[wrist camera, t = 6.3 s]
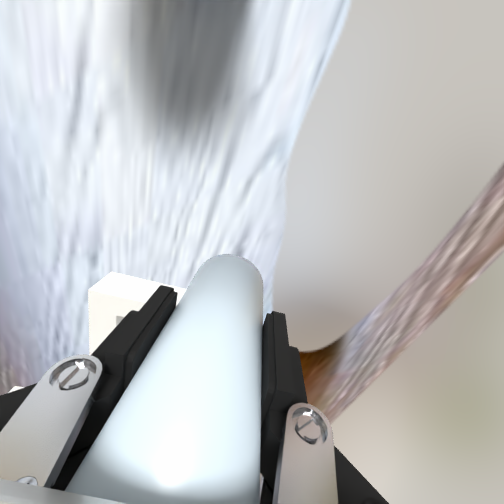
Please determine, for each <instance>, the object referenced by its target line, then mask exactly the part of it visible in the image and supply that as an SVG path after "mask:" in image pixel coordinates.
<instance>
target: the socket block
mask: <svg viewBox="0 0 504 504" xmlns="http://www.w3.org/2000/svg"><path fill="white" fill-rule="evenodd" d="M160 285H164V286H168V287H172V288H174V291H175V292H178V296H177V302H176V306H177V304H178V303H179V301H180V299H181V298H182V296H183V295H184V293H185V291H186V290H187V289H184V288H179V287H175V286H171V285H166V284H162V283H158V282H154V281H149V280H145V279H141V278H136V277H132V276H128V275H123V274H119V273H115V272H111V273H109V274H108V275H107V276H105V277H104V278H103V279H101V280H100V281H99V282H98V283H96V284H95V285H94V286H92V287H91V288H90V289H89V290H88V300H89V347H90V355H91V354H92V353H93V352H94V351H95V350H96V349H97V347H98V346H99V345H100V344H101V343H102V342H103V341H104V340H105V339H106V337H107V336H108V335H109V334H110V333H111V332H112V331H113V330H114V328H115V327H116V326H117V325H118V324H119V323H120V322H121V321H122V319H123V318H124V317H125V316H126V315H127V314H128V313H129V312H130V311H131V310H135V311H139V310H140V309H141V308H142V307H143V305H144V304H145V303H146V302H147V301H148V299H149V298H150V297H151V296H152V295H153V293H154V292H155V291H156V290H157V289H158V287H159V286H160Z"/></svg>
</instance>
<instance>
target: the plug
mask: <svg viewBox="0 0 504 504" xmlns="http://www.w3.org/2000/svg"><path fill="white" fill-rule="evenodd" d="M262 328H263V280H262V277H261V274H260V272H259V271H258V269H257V268H256V267H255V266H254V265H253V264H252V263H251V262H250V261H248V260H247V259H245V258H243V257H240V256H237V255H231V254H223V255H218V256H214V257H212V258H210V259H208V260H207V261H206V262H204V263H203V264H202V266H201V267H200V268H199V270H198V271H197V273H196V275H195V276H194V278H193V280H192V281H191V283H190V285H189V286H188V288H187V290H186V291H185V293H184V295H183V296H182V298H181V299H180V301H179V303H178V304H177V306H176V308H175V309H174V311H173V313H172V314H171V316H170V318H169V319H168V321H167V323H166V324H165V326H164V328H163V329H162V331H161V332H160V334H159V336H158V337H157V339H156V341H155V342H154V344H153V346H152V347H151V349H150V351H149V352H148V354H147V356H146V357H145V359H144V361H143V362H142V364H141V365H140V367H139V369H138V370H137V372H136V374H135V375H134V377H133V379H132V380H131V382H130V384H129V385H128V387H127V389H126V390H125V392H124V394H123V395H122V397H121V398H120V400H119V402H118V403H117V405H116V407H115V408H114V410H113V412H112V413H111V415H110V417H109V418H108V420H107V422H106V423H105V425H104V427H103V428H102V430H101V431H100V433H99V435H98V436H97V438H96V440H95V441H94V443H93V445H92V446H91V448H90V450H89V451H88V453H87V455H86V456H85V458H84V460H83V461H82V463H81V465H80V466H79V468H78V469H77V471H76V473H75V474H74V476H73V478H72V479H71V481H70V483H69V484H68V486H67V488H66V489H65V491H66V492H71V493H76V494H81V495H86V496H91V497H97V498H102V499H107V500H112V501H117V502H122V503H127V504H259V502H260V446H261V381H262Z"/></svg>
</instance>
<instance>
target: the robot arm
mask: <svg viewBox="0 0 504 504" xmlns="http://www.w3.org/2000/svg"><path fill="white" fill-rule="evenodd" d="M177 296H178V292H175V291H174V288H172V287H168V286H164V285H160V286H159V287H158V289H157V290H156V291H155V292H154V293H153V295H152V296H151V297H150V298H149V299H148V301H147V302H146V303H145V304H144V305H143V307H142V308H141V309H140V310H139V311H135V310H131V311H130V312H129V313H128V314H127V315H126V316H125V317H124V318H123V319H122V321H121V322H120V323H119V324H118V325H117V326H116V327H115V328H114V330H113V331H112V332H111V333H110V334H109V335H108V336H107V337H106V339H105V340H104V341H103V342H102V343H101V344H100V345H99V346H98V347H97V349H96V350H95V351H94V352H93V353H92V354H91V355H75V356H70V357H67V358H65V359H62V360H60V361H59V362H57V363H55V364H54V365H52V366H51V367H50V368H49V369H48V370H47V371H46V373H45V374H44V375H43V377H42V378H41V379H40V381H39V382H38V383H36V384H33V385H30V386H27V387H24V388H21V389H18V390H16V391H13V392H10V393H7V394H4V395H1V396H0V504H127V503H122V502H117V501H112V500H107V499H102V498H97V497H91V496H86V495H81V494H76V493H71V492H66V491H65V489H66V488H67V486H68V484H69V483H70V481H71V479H72V478H73V476H74V474H75V473H76V471H77V469H78V468H79V466H80V465H81V463H82V461H83V460H84V458H85V456H86V455H87V453H88V451H89V450H90V448H91V446H92V445H93V443H94V441H95V440H96V438H97V436H98V435H99V433H100V431H101V430H102V428H103V427H104V425H105V423H106V422H107V420H108V418H109V417H110V415H111V413H112V412H113V410H114V408H115V407H116V405H117V403H118V402H119V400H120V398H121V397H122V395H123V394H124V392H125V390H126V389H127V387H128V385H129V384H130V382H131V380H132V379H133V377H134V375H135V374H136V372H137V370H138V369H139V367H140V365H141V364H142V362H143V361H144V359H145V357H146V356H147V354H148V352H149V351H150V349H151V347H152V346H153V344H154V342H155V341H156V339H157V337H158V336H159V334H160V332H161V331H162V329H163V328H164V326H165V324H166V323H167V321H168V319H169V318H170V316H171V314H172V313H173V311H174V309H175V308H176V302H177ZM259 504H389V503H388V502H387V501H386V500H385V499H384V498H383V497H382V496H381V495H380V494H379V493H378V492H377V490H376V489H375V488H374V487H373V486H372V485H371V484H370V483H369V482H368V481H367V480H366V479H365V478H364V477H363V476H362V475H361V473H360V472H359V471H358V470H357V469H356V468H355V467H354V466H353V465H352V464H351V463H350V462H349V461H348V460H347V459H346V458H345V456H343V454H342V453H341V452H340V451H339V450H338V449H337V448H336V447H335V446H334V442H333V432H332V428H331V425H330V423H329V421H328V419H327V418H326V417H325V415H324V414H323V413H322V412H321V411H320V410H318V409H317V408H316V407H314V406H312V405H310V404H308V402H307V397H306V391H305V385H304V379H303V373H302V367H301V362H300V356H299V351H298V349H297V348H295V347H291V346H289V342H288V334H287V326H286V319H285V314H283V313H279V312H275V311H272V313H271V314H269V313H267V315H266V318H265V321H264V324H263V328H262V381H261V446H260V502H259Z"/></svg>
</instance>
